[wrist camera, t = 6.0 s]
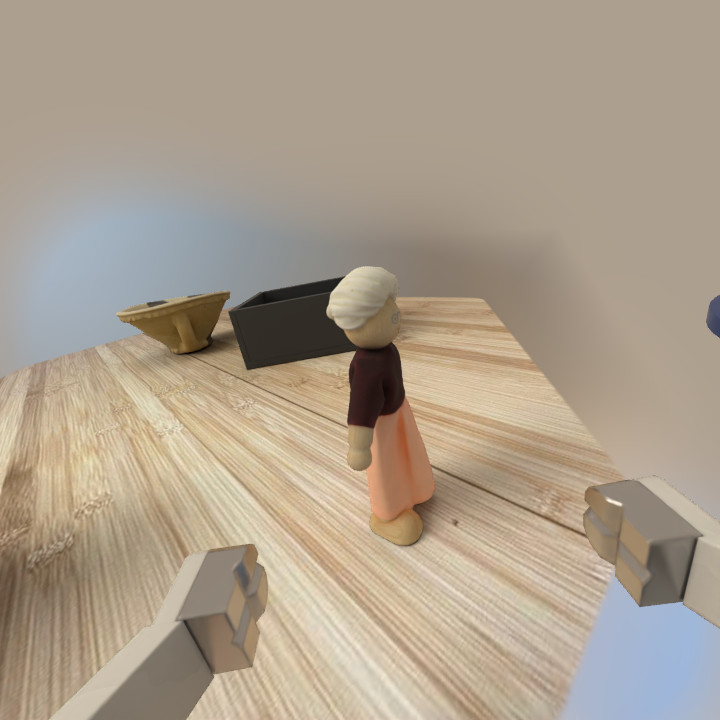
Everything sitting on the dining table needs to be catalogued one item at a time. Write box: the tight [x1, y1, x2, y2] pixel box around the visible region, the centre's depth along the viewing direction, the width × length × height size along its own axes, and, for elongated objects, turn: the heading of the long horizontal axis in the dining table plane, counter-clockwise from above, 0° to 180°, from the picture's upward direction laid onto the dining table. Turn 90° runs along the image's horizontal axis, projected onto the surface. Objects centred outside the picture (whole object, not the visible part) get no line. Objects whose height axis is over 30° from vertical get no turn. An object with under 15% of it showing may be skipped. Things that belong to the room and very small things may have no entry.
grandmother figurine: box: [326, 266, 435, 545], centre depth 16 cm, size 8×4×13 cm, turn 174°
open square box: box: [229, 276, 357, 370], centre depth 50 cm, size 16×16×8 cm
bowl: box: [116, 291, 230, 354], centre depth 60 cm, size 18×18×10 cm
